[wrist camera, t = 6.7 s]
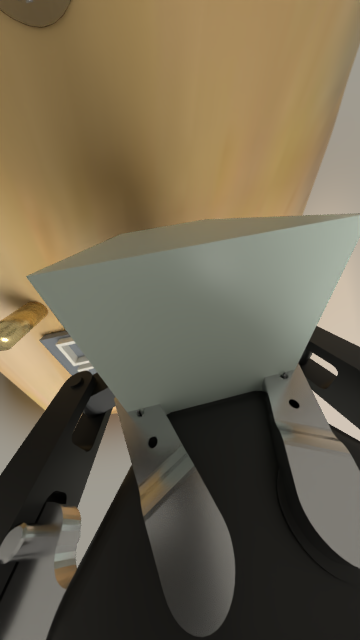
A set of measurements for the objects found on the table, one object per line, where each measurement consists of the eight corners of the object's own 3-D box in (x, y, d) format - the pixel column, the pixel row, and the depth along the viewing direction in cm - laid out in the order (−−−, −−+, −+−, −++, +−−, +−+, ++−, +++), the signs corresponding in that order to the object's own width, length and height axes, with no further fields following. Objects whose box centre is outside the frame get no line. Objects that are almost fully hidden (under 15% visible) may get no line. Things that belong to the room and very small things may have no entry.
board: (44, 335, 27) (14, 368, 21) (171, 308, 29) (178, 331, 23) (83, 379, 35) (69, 412, 29) (181, 356, 37) (187, 383, 31)
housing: (120, 233, 10) (27, 276, 2) (205, 219, 10) (371, 213, 3) (160, 358, 16) (170, 470, 9) (209, 346, 17) (257, 446, 9)
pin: (20, 303, 24) (-29, 335, 17) (40, 299, 24) (-2, 328, 17) (33, 319, 25) (-7, 353, 19) (51, 315, 25) (18, 347, 19)
